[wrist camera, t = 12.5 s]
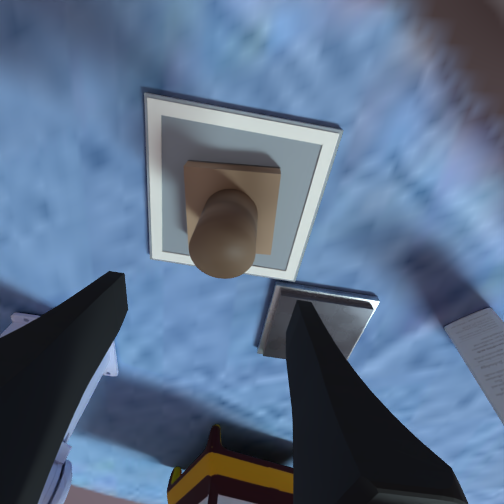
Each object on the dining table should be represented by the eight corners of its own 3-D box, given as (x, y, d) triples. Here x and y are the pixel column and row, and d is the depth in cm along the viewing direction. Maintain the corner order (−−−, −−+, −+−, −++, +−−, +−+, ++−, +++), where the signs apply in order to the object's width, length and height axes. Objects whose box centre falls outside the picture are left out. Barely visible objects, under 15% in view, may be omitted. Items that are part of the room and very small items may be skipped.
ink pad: (257, 348, 30) (257, 358, 29) (275, 280, 25) (276, 290, 24) (342, 360, 30) (345, 370, 29) (377, 296, 25) (382, 306, 24)
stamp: (192, 238, 22) (171, 290, 17) (188, 159, 19) (160, 195, 14) (270, 244, 22) (271, 298, 17) (280, 167, 19) (285, 205, 14)
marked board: (151, 256, 24) (149, 259, 23) (146, 92, 17) (143, 93, 17) (294, 279, 24) (295, 282, 24) (342, 129, 18) (343, 131, 17)
